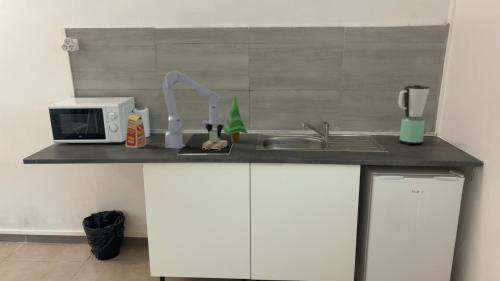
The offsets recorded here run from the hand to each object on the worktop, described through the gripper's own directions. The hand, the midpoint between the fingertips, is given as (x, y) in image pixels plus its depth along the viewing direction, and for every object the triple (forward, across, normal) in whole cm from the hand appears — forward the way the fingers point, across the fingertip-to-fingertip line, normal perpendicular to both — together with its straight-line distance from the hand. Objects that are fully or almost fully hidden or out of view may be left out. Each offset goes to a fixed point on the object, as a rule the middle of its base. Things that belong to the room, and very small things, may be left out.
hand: (214, 137), depth 211 cm
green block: (+2, 0, 0) cm, 2 cm away
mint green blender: (+6, +110, +43) cm, 118 cm away
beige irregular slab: (+6, 0, 0) cm, 6 cm away
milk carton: (+6, -46, -10) cm, 47 cm away
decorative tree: (+6, +7, +16) cm, 19 cm away
